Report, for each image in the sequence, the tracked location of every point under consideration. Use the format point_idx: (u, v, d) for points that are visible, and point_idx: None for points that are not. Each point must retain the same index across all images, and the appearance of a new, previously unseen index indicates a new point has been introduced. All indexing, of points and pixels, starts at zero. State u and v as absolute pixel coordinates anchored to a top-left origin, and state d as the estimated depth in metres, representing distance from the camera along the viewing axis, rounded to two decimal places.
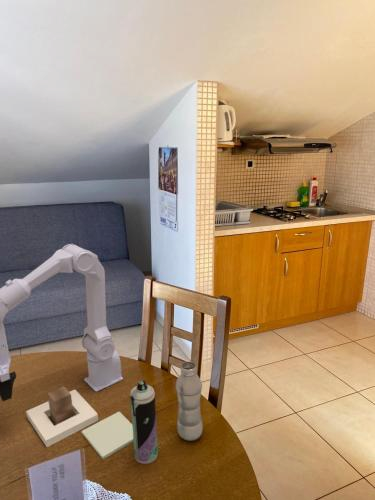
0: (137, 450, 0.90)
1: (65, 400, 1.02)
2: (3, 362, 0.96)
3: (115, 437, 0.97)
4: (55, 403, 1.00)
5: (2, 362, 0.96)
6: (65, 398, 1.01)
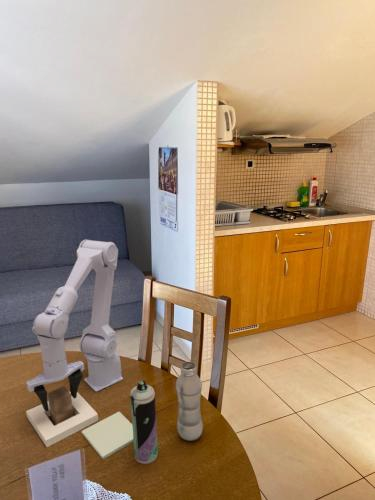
0: (137, 450, 0.90)
1: (65, 400, 1.02)
2: (47, 376, 0.98)
3: (115, 437, 0.97)
4: (55, 403, 1.00)
5: (46, 375, 0.98)
6: (65, 398, 1.01)
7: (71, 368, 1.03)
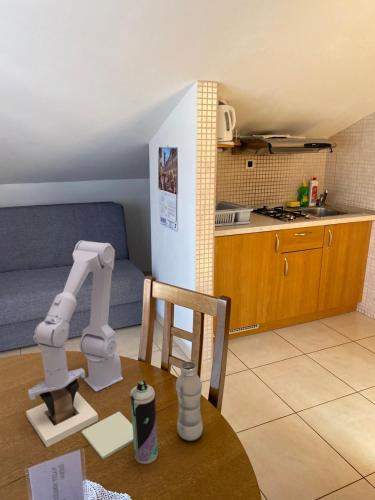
0: (137, 450, 0.90)
1: (65, 400, 1.02)
2: (48, 384, 0.99)
3: (115, 437, 0.97)
4: (55, 403, 1.00)
5: (47, 383, 0.99)
6: (65, 398, 1.01)
7: (72, 376, 1.04)
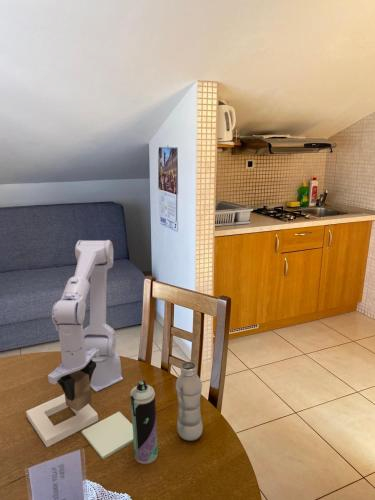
0: (137, 450, 0.90)
1: (84, 381, 0.98)
2: (68, 366, 0.94)
3: (115, 437, 0.97)
4: (75, 385, 0.95)
5: (67, 365, 0.94)
6: (84, 379, 0.98)
7: (87, 356, 1.00)
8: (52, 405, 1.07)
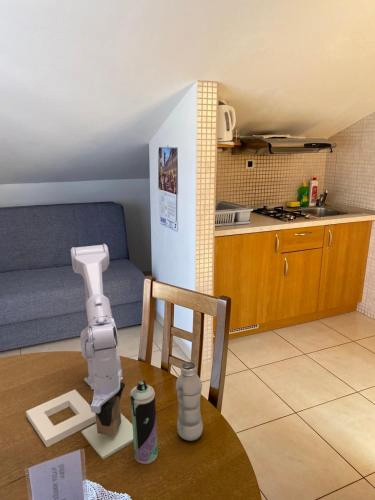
0: (137, 450, 0.90)
1: (116, 404, 0.96)
2: (106, 392, 0.92)
3: (115, 437, 0.97)
4: (112, 409, 0.94)
5: (105, 391, 0.92)
6: (116, 402, 0.96)
7: None
8: (52, 405, 1.07)
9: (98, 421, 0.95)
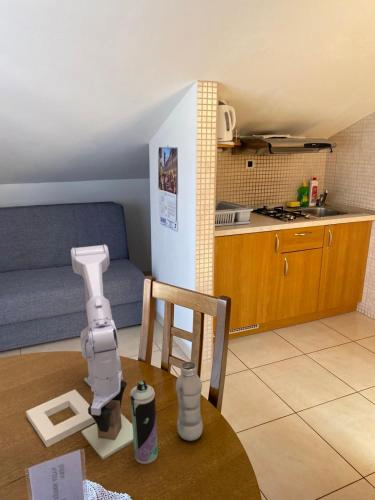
0: (137, 450, 0.90)
1: (117, 408, 0.97)
2: (106, 394, 0.92)
3: None
4: (113, 414, 0.94)
5: (105, 393, 0.92)
6: (117, 406, 0.97)
7: None
8: (52, 405, 1.07)
9: None
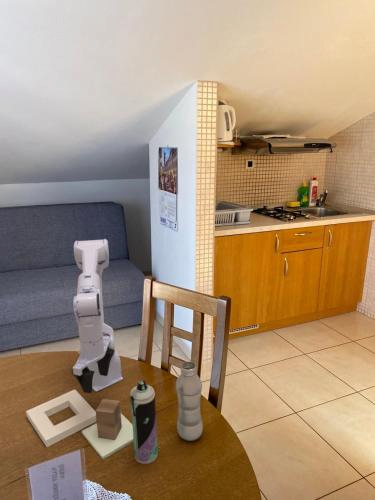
0: (137, 450, 0.90)
1: (117, 408, 0.97)
2: (89, 357, 0.97)
3: None
4: (113, 414, 0.94)
5: (88, 356, 0.97)
6: (117, 406, 0.97)
7: None
8: (52, 405, 1.07)
9: (99, 426, 0.96)
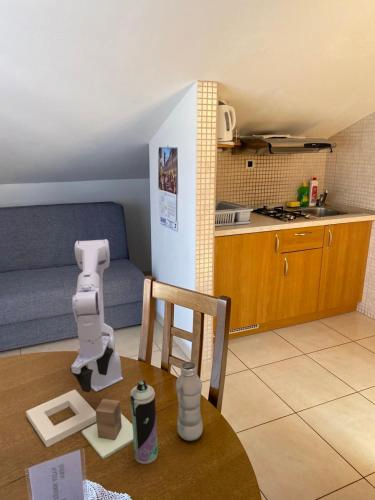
0: (137, 450, 0.90)
1: (117, 408, 0.97)
2: (88, 356, 0.98)
3: None
4: (113, 414, 0.94)
5: (87, 355, 0.97)
6: (117, 406, 0.97)
7: None
8: (52, 405, 1.07)
9: (99, 426, 0.96)
